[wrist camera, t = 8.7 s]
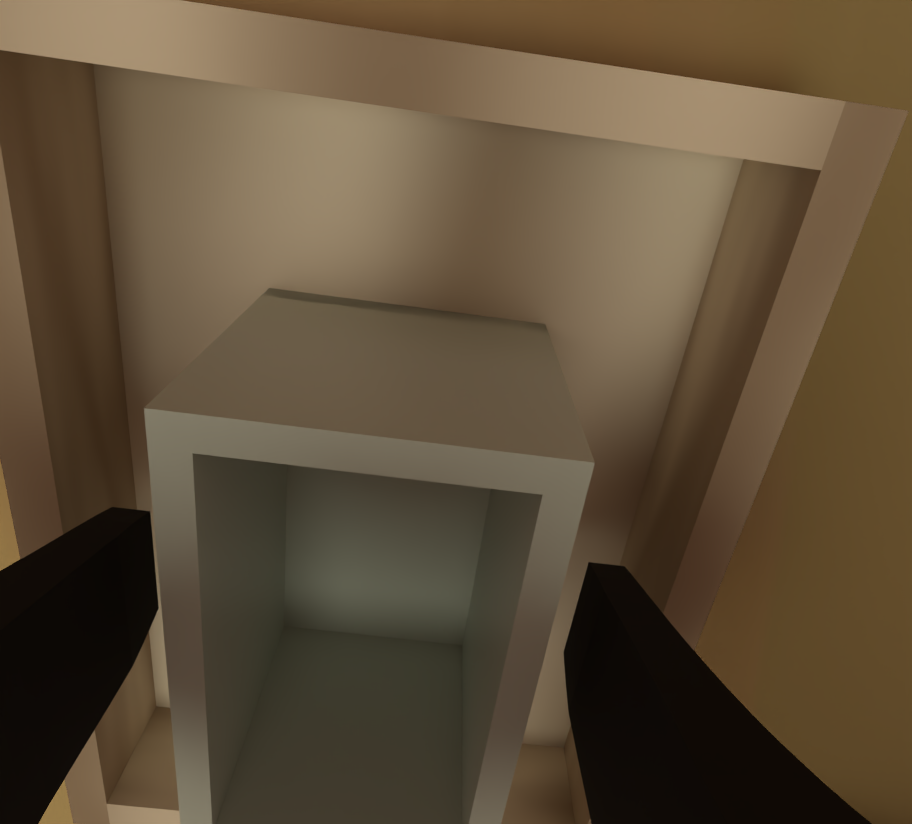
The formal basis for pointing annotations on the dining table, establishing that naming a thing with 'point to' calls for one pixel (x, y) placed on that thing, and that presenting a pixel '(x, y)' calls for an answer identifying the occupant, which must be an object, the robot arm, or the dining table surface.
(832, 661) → the dining table surface
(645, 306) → the big crate
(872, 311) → the dining table surface
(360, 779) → the small crate
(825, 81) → the dining table surface
